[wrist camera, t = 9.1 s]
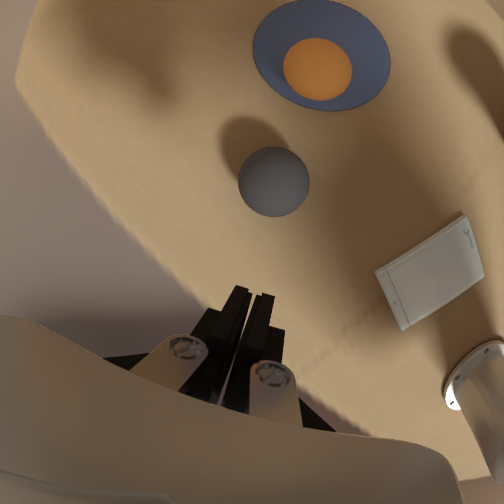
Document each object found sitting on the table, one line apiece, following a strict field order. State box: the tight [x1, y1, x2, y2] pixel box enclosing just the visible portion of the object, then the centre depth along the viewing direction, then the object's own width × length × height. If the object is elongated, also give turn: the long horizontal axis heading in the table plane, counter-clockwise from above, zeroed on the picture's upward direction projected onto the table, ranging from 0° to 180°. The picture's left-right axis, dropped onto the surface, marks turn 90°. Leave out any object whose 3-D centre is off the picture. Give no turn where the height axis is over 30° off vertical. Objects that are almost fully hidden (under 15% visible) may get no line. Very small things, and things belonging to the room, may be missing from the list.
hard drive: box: [374, 214, 484, 332], centre depth 26 cm, size 2×8×12 cm
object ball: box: [283, 38, 352, 101], centre depth 20 cm, size 6×6×6 cm
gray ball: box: [238, 147, 309, 217], centre depth 23 cm, size 6×6×6 cm
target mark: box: [253, 0, 390, 111], centre depth 22 cm, size 14×14×1 cm
